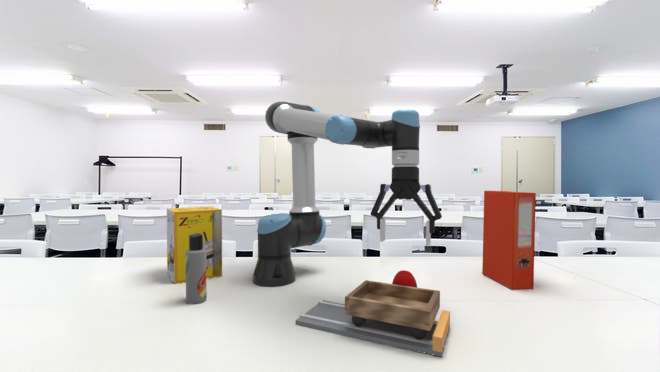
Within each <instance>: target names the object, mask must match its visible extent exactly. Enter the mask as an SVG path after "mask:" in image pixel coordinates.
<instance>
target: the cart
mask: <svg viewBox="0 0 660 372" xmlns="http://www.w3.org/2000/svg"><path fill="white" fill-rule="evenodd" d="M440 303H441V291H440V290H436V289H429V288H422V287H417V288H416V287H409V286H402V285H395V284H392V283H387V282H380V281H374V280H368V279H367V280H364V281H363V282H362V283H360V284H359V285H358V286H356V287H355V288H354V289H353V290H352V291H350V292H349V293H347V295H346V296H345V297H344V304H345V314H346V315H352V322H353V324H354V325H355V326H357V327H361V326H362V325H363V324H364V323H365V321H366V318H367V319H372V320H377V321H382V322H387V323H392V324H398V325H403V326H408V327H413V328H412V330H411V333H412V335H413V337H414V338H416V339H419V340H421V339H423V338H424V337H425V335H426V333H427V330H428V331H430V330H431V328H432V325H433V323H434V320H435V319H436V317H437V315H438V313H439V310H440V307H441V304H440ZM435 321H436V320H435Z"/></svg>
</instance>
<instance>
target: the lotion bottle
mask: <svg viewBox="0 0 660 372" xmlns="http://www.w3.org/2000/svg"><path fill="white" fill-rule="evenodd" d="M207 285H208V284H207V279H206V249H203V235H202V234H201V233H196V234H192V235H189V250H187V251H186V282H185V301H186V303H187V304H189V305H196V304H197V305H198V304H201V303H203V302H206V300H207V295H208V293H207Z"/></svg>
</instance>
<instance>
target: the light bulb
mask: <svg viewBox="0 0 660 372" xmlns="http://www.w3.org/2000/svg"><path fill="white" fill-rule="evenodd" d="M392 279H393V280H392V283H391V284H395V285H402V286H409V287H416V288H418V283H417V279H416V278H415V276H414V275H413V273H412V272H411V271H410V270H399V271H398V272H397V273H396V274H395V275H394V277H393V278H392Z"/></svg>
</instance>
